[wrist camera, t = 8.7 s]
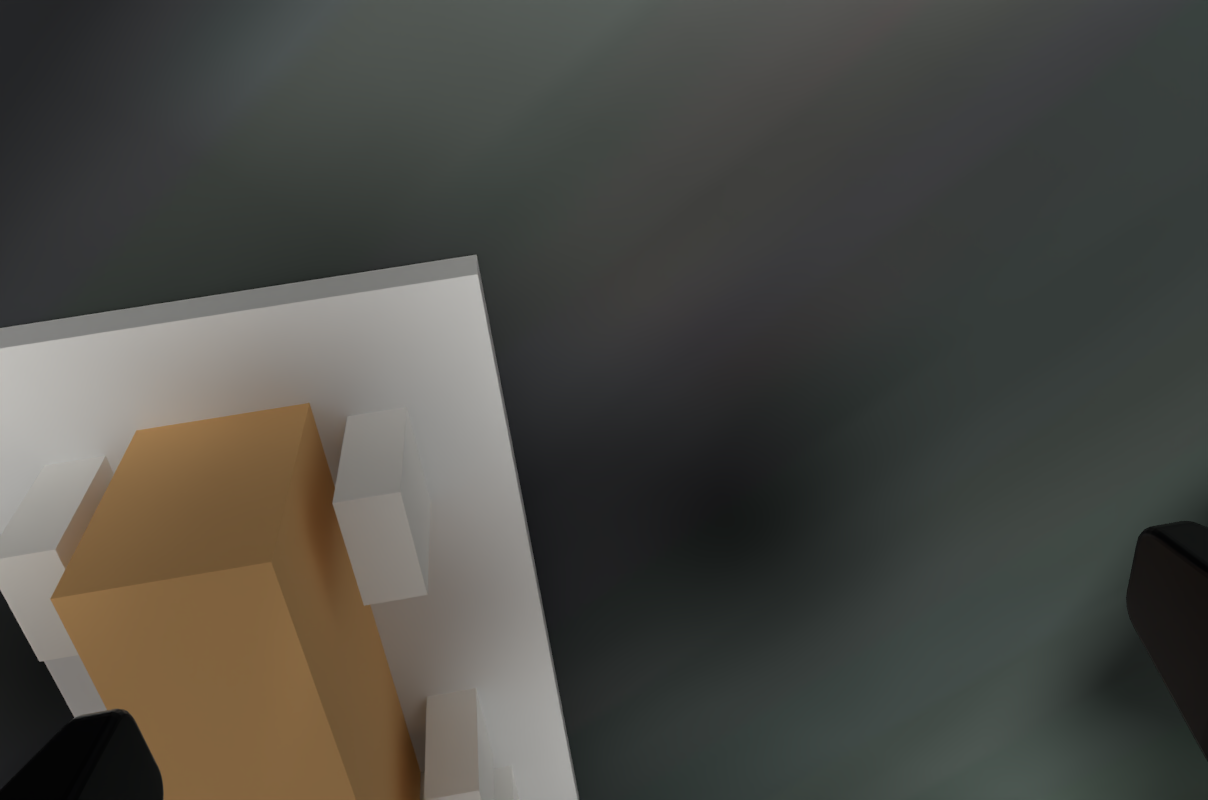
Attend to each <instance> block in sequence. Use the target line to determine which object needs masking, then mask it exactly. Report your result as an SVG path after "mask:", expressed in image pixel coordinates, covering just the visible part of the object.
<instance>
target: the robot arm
mask: <svg viewBox="0 0 1208 800" xmlns="http://www.w3.org/2000/svg"><path fill="white" fill-rule="evenodd" d="M1126 603H1127V610H1128V614H1129V617H1130V620H1131V622H1132V624H1133V626H1134V628H1135V630H1136V632H1137V634H1138V636H1139V637H1140V639H1141V641H1142V643H1143V645H1144V647H1145V648H1146V650H1147V652H1148V654H1149V656H1150V658H1151V659H1152V661H1153V663H1154V665H1155V667H1156V669H1157V670H1158V672H1159V674H1160V676H1161V678H1162V680H1163V681H1164V683H1165V685H1166V687H1167V689H1168V691H1169V692H1170V694H1171V696H1172V698H1173V700H1174V702H1175V703H1176V705H1177V707H1178V709H1179V711H1180V713H1181V714H1182V716H1183V718H1184V720H1185V722H1186V723H1187V725H1188V727H1189V729H1190V731H1191V733H1192V734H1193V736H1194V738H1195V740H1196V742H1197V744H1198V745H1199V747H1200V749H1201V751H1202V752H1203V754H1204V756H1205V758H1206V759H1207V761H1208V528H1207V527H1205V526H1203V525H1200V524H1197V523H1195V522H1190V521H1180V522H1175V523H1169V524H1163V525H1158V526H1152V527H1149V528H1147V529H1145V530H1144V531H1143V532H1142V533H1141V534H1140V536H1139V537H1138V540H1137V544H1136V549H1135V554H1134V559H1133V564H1132V569H1131V574H1130V579H1129V584H1128V589H1127V595H1126ZM163 797H164V791H163V780H162V776H161V772H160V770H159V767H158V765H157V763H156V761H155V759H154V757H153V755H152V753H151V751H150V749H149V747H148V745H147V743H146V741H145V739H144V737H143V735H142V733H141V731H140V729H139V727H138V725H137V723H136V721H135V719H134V718H133V716H132V715H131V714H130V713H129V712H128V711H126V710H124V709H112V710H106V711H100V712H95V713H89V714H83V715H80V716H77V717H75V718H73V719H72V720H70V721H69V722H68V723H67V724H66V725H65V726H64V727H63V728H62V729H61V730H60V731H59V732H58V733H57V734H56V735H55V736H54V737H53V738H52V739H51V740H50V741H49V742H48V743H47V744H46V745H45V746H44V747H43V748H42V749H41V750H40V751H39V752H38V753H37V754H36V755H35V756H34V757H33V758H32V759H31V760H30V761H29V762H28V763H27V764H26V765H25V766H24V767H23V768H22V769H21V770H20V771H19V772H18V773H17V774H16V775H15V776H14V777H13V778H12V779H11V780H10V781H9V782H8V783H7V784H6V785H5V786H4V787H3V788H2V789H1V790H0V800H163Z"/></svg>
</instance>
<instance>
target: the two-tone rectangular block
mask: <svg viewBox="0 0 1208 800" xmlns="http://www.w3.org/2000/svg"><path fill="white" fill-rule="evenodd" d="M334 491H335V486H334V482H333V479H332V476H331V472H330V469H329V466H328V463H327V459H326V456H325V453H324V449H323V446H322V443H321V439H320V436H319V433H318V429H317V426H316V423H315V419H314V416H313V413H312V409H311V406H310V403H306V404H299V405H293V406H287V407H280V408H274V409H268V410H262V411H255V412H249V413H243V414H237V415H230V416H224V417H218V418H211V419H205V420H199V421H193V422H186V423H180V424H174V425H167V426H161V427H155V428H149V429H142V430H136V432H135V434H134V436H133V438H132V440H131V442H130V444H129V446H128V448H127V450H126V452H125V454H124V456H123V458H122V460H121V462H120V464H119V465H118V467H117V469H116V471H115V473H114V475H113V477H112V479H111V481H110V483H109V485H108V487H107V489H106V491H105V493H104V495H103V497H102V499H101V501H100V503H99V505H98V507H97V509H96V510H95V512H94V514H93V516H92V518H91V520H90V522H89V524H88V526H87V528H86V530H85V532H84V534H83V536H82V538H81V540H80V542H79V544H78V546H77V548H76V550H75V552H74V554H73V555H72V557H71V559H70V561H69V563H68V565H67V567H66V569H65V571H64V573H63V575H62V577H61V579H60V581H59V583H58V585H57V587H56V589H55V591H54V593H53V595H52V597H51V599H50V600H51V602H52V604H53V606H54V607H55V609H56V611H57V613H58V615H59V617H60V619H61V621H62V623H63V625H64V627H65V629H66V631H67V633H68V635H69V637H70V639H71V641H72V643H73V645H74V646H75V648H76V650H77V652H78V654H79V656H80V658H81V660H82V662H83V664H84V666H85V668H86V670H87V672H88V674H89V676H90V678H91V680H92V682H93V684H94V686H95V687H96V689H97V691H98V693H99V695H100V697H101V699H102V701H103V703H104V705H105V707H106V709H107V710H112V709H124V710H126V711H128V712H129V713H130V714H131V715H132V716H133V718H134V719H135V721H136V723H137V725H138V727H139V729H140V731H141V733H142V735H143V737H144V739H145V741H146V743H147V745H148V747H149V749H150V751H151V753H152V755H153V757H154V759H155V761H156V763H157V765H158V767H159V770H160V772H161V776H162V780H163V791H164V797H163V800H424V781H425V772H421V771H420V768H419V765H418V762H417V758H416V755H415V752H414V748H413V745H412V742H411V738H410V735H409V732H408V728H407V725H406V722H405V718H404V715H403V712H402V708H401V705H400V702H399V698H398V695H397V692H396V688H395V685H394V682H393V678H392V675H391V672H390V668H389V665H388V662H387V659H386V655H385V652H384V649H383V645H382V642H381V639H380V635H379V632H378V629H377V625H376V622H375V619H374V615H373V612H372V609H371V605H365V606H364V604H363V601H362V598H361V594H360V591H359V588H358V585H357V581H356V578H355V575H354V572H353V569H352V565H351V562H350V559H349V556H348V552H347V549H346V546H345V543H344V539H343V536H342V533H341V530H340V526H339V523H338V520H337V517H336V513H335V510H334V507H333V504H332V503H333V497H334Z"/></svg>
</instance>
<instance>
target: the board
mask: <svg viewBox="0 0 1208 800" xmlns="http://www.w3.org/2000/svg"><path fill="white" fill-rule="evenodd" d="M306 403H310V406H311V409H312V413H313V416H314V419H315V423H316V426H317V429H318V433H319V436H320V439H321V443H322V446H323V449H324V453H325V456H326V459H327V463H328V466H329V469H330V472H331V476H332V479H333V482H334V486H335V491H334V497H333V503H332V504H333V507H334V510H335V513H336V517H337V520H338V523H339V526H340V530H341V533H342V536H343V539H344V543H345V546H346V549H347V552H348V556H349V559H350V562H351V565H352V569H353V572H354V575H355V578H356V581H357V585H358V588H359V591H360V594H361V598H362V601H363V604H364V606H365V605H371V609H372V612H373V615H374V619H375V622H376V625H377V629H378V632H379V635H380V639H381V642H382V645H383V649H384V652H385V655H386V659H387V662H388V665H389V668H390V672H391V675H392V678H393V682H394V685H395V688H396V692H397V695H398V698H399V702H400V705H401V708H402V712H403V715H404V718H405V722H406V725H407V728H408V732H409V735H410V738H411V742H412V745H413V748H414V752H415V755H416V758H417V762H418V765H419V768H420V771H421V772H425V781H424V800H579V795H578V789H577V784H576V779H575V773H574V768H573V763H572V757H571V752H570V747H569V742H568V736H567V731H566V726H565V720H564V715H563V710H562V705H561V699H560V694H559V689H558V683H557V678H556V673H555V667H554V662H553V657H552V652H551V646H550V641H549V636H548V630H547V625H546V620H545V614H544V609H543V604H542V599H541V593H540V588H539V583H538V577H537V572H536V567H535V561H534V556H533V551H532V546H531V540H530V535H529V530H528V524H527V519H526V514H525V509H524V503H523V498H522V493H521V487H520V482H519V477H518V471H517V466H516V461H515V456H514V450H513V445H512V440H511V434H510V429H509V424H508V418H507V413H506V408H505V403H504V397H503V392H502V387H501V381H500V376H499V371H498V365H497V360H496V355H495V350H494V344H493V339H492V334H491V328H490V323H489V318H488V312H487V307H486V302H485V297H484V291H483V286H482V281H481V275H480V270H479V265H478V260H477V255H471V256H464V257H458V258H451V259H445V260H438V261H432V262H425V263H419V264H412V265H406V266H400V267H393V268H387V269H380V270H374V271H367V272H361V273H354V274H348V275H341V276H335V277H328V278H322V279H315V280H309V281H302V282H296V283H289V284H283V285H277V286H270V287H264V288H257V289H251V290H244V291H238V292H231V293H225V294H218V295H212V296H205V297H199V298H192V299H186V300H179V301H173V302H166V303H160V304H153V305H147V306H141V307H134V308H128V309H121V310H115V311H108V312H102V313H95V314H89V315H82V316H76V317H69V318H63V319H56V320H50V321H43V322H37V323H30V324H24V325H18V326H11V327H5V328H0V590H1V592H2V594H3V596H4V598H5V600H6V601H7V603H8V605H9V607H10V609H11V611H12V612H13V614H14V616H15V618H16V620H17V622H18V623H19V625H20V627H21V629H22V631H23V633H24V634H25V636H26V638H27V640H28V642H29V644H30V645H31V647H32V649H33V651H34V653H35V655H36V656H37V658H38V660H39V662H41V661H44V662H45V664H46V666H47V668H48V670H49V672H50V673H51V675H52V677H53V679H54V681H55V683H56V684H57V686H58V688H59V690H60V692H61V694H62V696H63V697H64V699H65V701H66V703H67V705H68V707H69V708H70V710H71V712H72V714H73V716H74V718H75V717H77V716H80V715H83V714H89V713H95V712H100V711H106V710H107V709H106V707H105V705H104V703H103V701H102V699H101V697H100V695H99V693H98V691H97V689H96V687H95V686H94V684H93V682H92V680H91V678H90V676H89V674H88V672H87V670H86V668H85V666H84V664H83V662H82V660H81V658H80V656H79V654H78V652H77V650H76V648H75V646H74V645H73V643H72V641H71V639H70V637H69V635H68V633H67V631H66V629H65V627H64V625H63V623H62V621H61V619H60V617H59V615H58V613H57V611H56V609H55V607H54V606H53V604H52V602H51V600H50V599H51V597H52V595H53V593H54V591H55V589H56V587H57V585H58V583H59V581H60V579H61V577H62V575H63V573H64V571H65V569H66V567H67V565H68V563H69V561H70V559H71V557H72V555H73V554H74V552H75V550H76V548H77V546H78V544H79V542H80V540H81V538H82V536H83V534H84V532H85V530H86V528H87V526H88V524H89V522H90V520H91V518H92V516H93V514H94V512H95V510H96V509H97V507H98V505H99V503H100V501H101V499H102V497H103V495H104V493H105V491H106V489H107V487H108V485H109V483H110V481H111V479H112V477H113V475H114V473H115V471H116V469H117V467H118V465H119V464H120V462H121V460H122V458H123V456H124V454H125V452H126V450H127V448H128V446H129V444H130V442H131V440H132V438H133V436H134V434H135V432H136V430H142V429H149V428H155V427H161V426H167V425H174V424H180V423H186V422H193V421H199V420H205V419H211V418H218V417H224V416H230V415H237V414H243V413H249V412H255V411H262V410H268V409H274V408H280V407H287V406H293V405H299V404H306Z"/></svg>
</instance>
